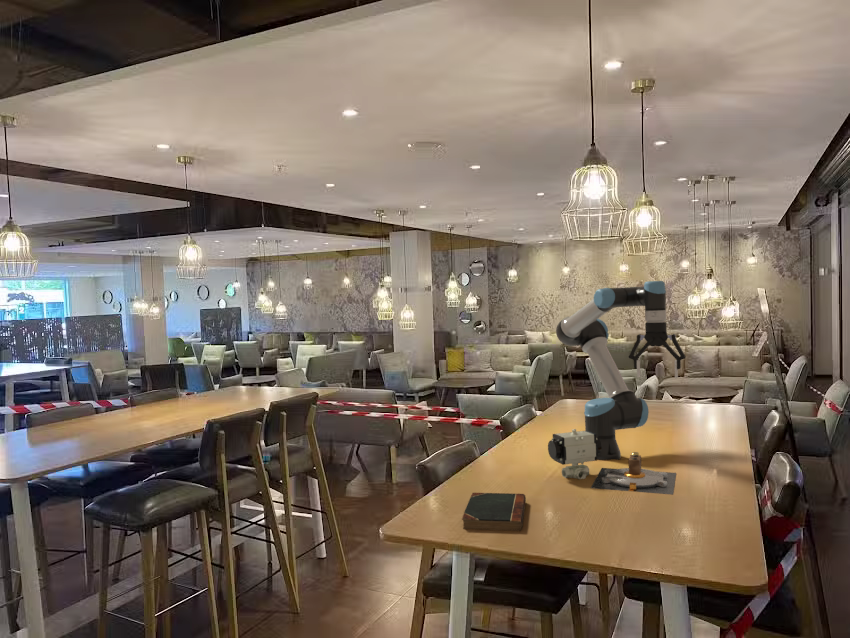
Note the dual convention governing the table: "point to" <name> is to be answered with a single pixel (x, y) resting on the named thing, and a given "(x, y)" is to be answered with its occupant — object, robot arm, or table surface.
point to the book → (494, 511)
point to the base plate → (656, 489)
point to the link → (635, 464)
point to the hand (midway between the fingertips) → (657, 377)
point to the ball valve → (574, 451)
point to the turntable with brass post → (635, 478)
